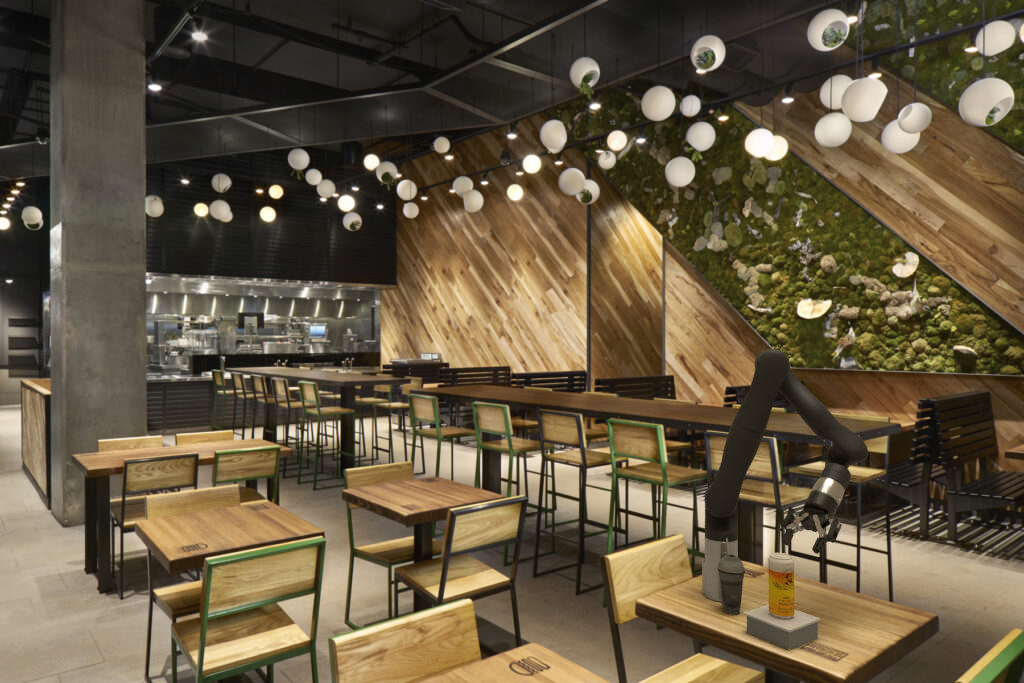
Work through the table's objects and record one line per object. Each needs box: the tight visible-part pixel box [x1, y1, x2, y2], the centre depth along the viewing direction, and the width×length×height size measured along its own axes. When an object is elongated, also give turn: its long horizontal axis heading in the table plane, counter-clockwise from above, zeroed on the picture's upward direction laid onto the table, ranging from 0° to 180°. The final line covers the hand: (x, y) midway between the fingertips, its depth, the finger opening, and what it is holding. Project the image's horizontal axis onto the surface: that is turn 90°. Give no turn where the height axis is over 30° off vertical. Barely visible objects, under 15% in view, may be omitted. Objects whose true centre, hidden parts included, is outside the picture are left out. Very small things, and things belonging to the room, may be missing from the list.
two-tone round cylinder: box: [767, 552, 796, 619], centre depth 166 cm, size 6×6×15 cm
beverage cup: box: [717, 538, 746, 616], centre depth 182 cm, size 7×7×20 cm
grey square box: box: [743, 603, 822, 650], centre depth 166 cm, size 13×13×5 cm
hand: (799, 547), depth 171 cm, fingers open, 8 cm apart
